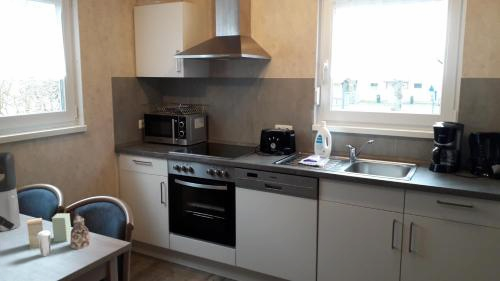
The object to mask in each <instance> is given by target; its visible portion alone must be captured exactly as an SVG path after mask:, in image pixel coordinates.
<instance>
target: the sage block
mask: <svg viewBox="0 0 500 281" xmlns="http://www.w3.org/2000/svg"><path fill="white" fill-rule="evenodd" d="M51 224H52V233H53V241H54V242H55V243H58V242H59V243H60V242H61V243H62V242H68V241H69V240H71V230H72V227H71V226H72V225H71V217H70V213H69V212H68V213H61V212H60V213H56V214H54V216H52V217H51Z"/></svg>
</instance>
